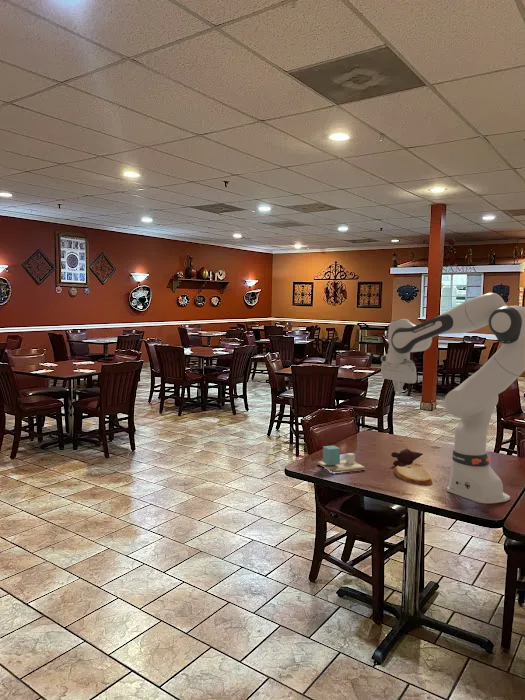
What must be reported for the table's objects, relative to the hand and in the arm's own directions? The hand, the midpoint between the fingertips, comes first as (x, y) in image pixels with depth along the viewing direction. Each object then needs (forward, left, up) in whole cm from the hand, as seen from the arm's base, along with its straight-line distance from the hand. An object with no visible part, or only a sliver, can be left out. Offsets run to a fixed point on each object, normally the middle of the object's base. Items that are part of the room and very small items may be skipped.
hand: (398, 391), depth 226 cm
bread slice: (-11, -1, -33) cm, 35 cm away
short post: (+9, +17, -31) cm, 36 cm away
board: (+9, +21, -33) cm, 40 cm away
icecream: (+4, -9, -33) cm, 34 cm away
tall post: (+9, +26, -31) cm, 41 cm away
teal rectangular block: (+9, +26, -30) cm, 41 cm away
